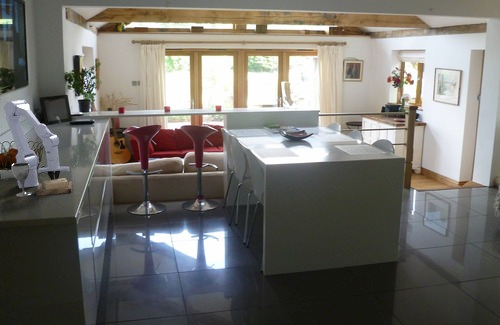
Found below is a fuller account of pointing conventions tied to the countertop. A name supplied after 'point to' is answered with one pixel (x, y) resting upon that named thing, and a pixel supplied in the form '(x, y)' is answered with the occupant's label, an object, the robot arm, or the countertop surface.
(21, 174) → the wine glass
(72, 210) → the countertop surface
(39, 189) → the cradle
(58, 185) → the carton
